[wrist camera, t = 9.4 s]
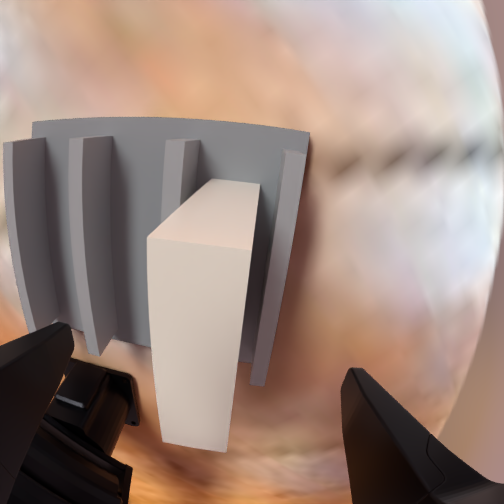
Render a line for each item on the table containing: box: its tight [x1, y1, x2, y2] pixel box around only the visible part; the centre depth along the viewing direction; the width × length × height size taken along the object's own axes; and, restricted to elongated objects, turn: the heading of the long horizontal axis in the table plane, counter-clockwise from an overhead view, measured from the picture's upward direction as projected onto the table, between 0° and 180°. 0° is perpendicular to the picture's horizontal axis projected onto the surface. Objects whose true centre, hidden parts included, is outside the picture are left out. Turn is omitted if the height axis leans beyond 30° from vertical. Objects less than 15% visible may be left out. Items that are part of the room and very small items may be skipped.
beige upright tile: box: [147, 179, 260, 453], centre depth 13 cm, size 8×2×9 cm, turn 173°
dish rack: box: [3, 117, 310, 386], centre depth 16 cm, size 14×16×4 cm
